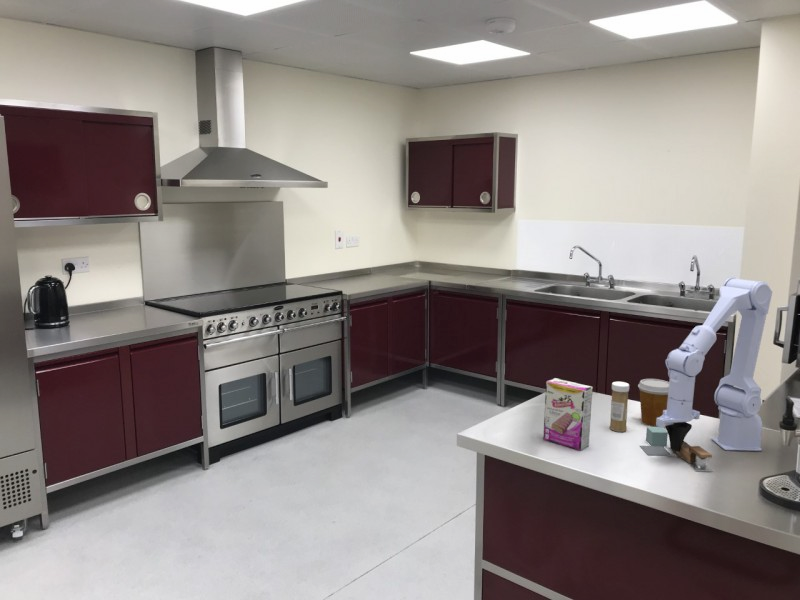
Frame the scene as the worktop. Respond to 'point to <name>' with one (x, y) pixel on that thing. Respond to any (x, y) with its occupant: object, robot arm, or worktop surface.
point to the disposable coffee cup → (653, 399)
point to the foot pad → (675, 453)
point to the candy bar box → (567, 413)
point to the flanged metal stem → (700, 465)
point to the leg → (692, 452)
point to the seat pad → (655, 450)
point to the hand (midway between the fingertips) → (675, 449)
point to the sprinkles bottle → (619, 406)
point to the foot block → (656, 436)
